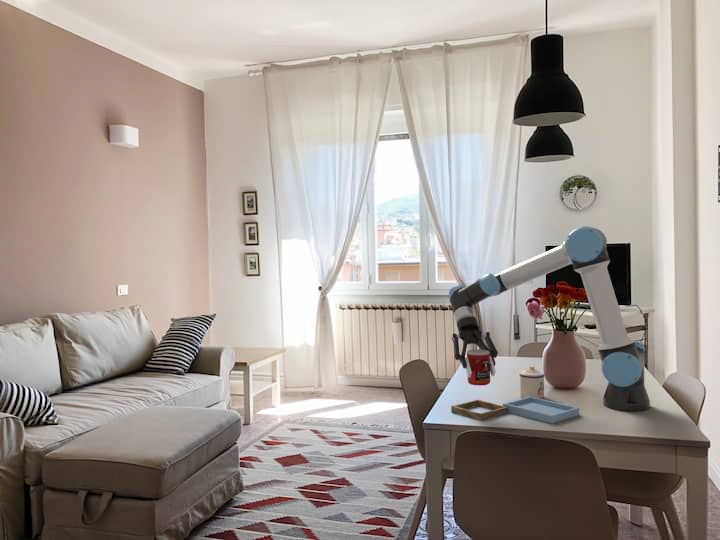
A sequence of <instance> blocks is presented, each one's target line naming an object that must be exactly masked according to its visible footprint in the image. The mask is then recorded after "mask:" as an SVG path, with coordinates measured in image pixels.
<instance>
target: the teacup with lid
mask: <svg viewBox="0 0 720 540" xmlns="http://www.w3.org/2000/svg"><path fill="white" fill-rule="evenodd" d="M519 389H520V390H519V393H520V394H519V395H520V397H521V399H523V398H526V397H534V398H539V399H544V397H545V373H544V372H542V371H541V370H538V369H537V368H535V366H533V365H529V366H528V368H527V369H525V370H522V371H520V372H519Z"/></svg>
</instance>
